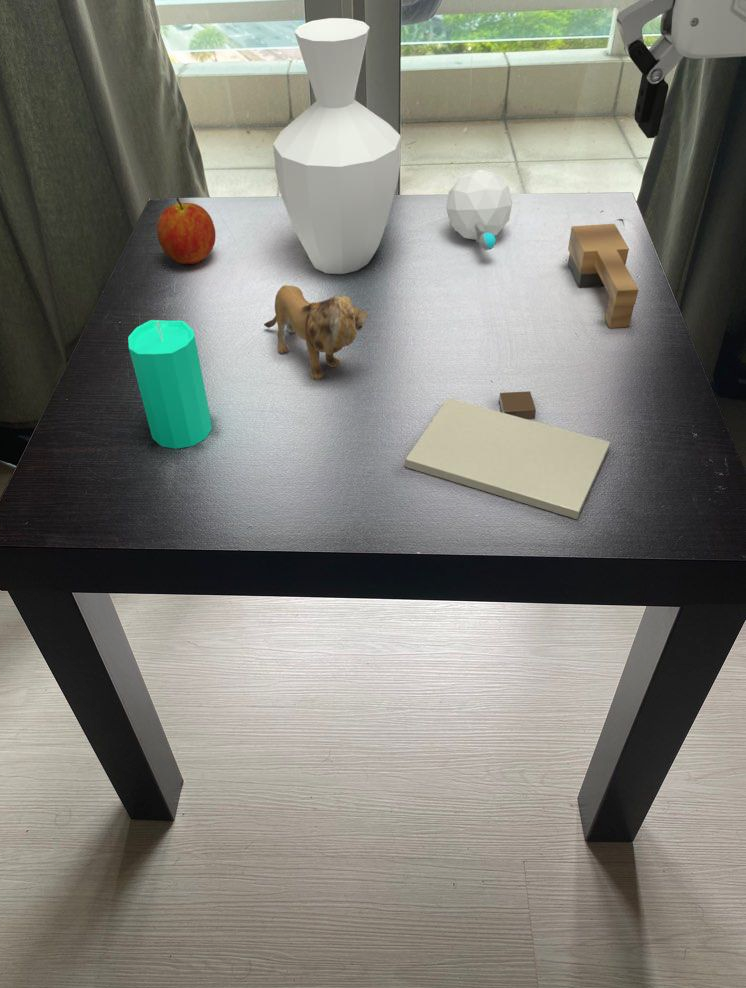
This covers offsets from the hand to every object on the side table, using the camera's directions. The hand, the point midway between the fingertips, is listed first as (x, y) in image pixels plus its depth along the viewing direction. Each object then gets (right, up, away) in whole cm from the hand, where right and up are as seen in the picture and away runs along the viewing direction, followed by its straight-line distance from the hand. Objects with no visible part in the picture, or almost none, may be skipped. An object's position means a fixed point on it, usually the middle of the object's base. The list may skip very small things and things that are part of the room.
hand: (707, 127), depth 67 cm
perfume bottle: (-12, +4, +38) cm, 40 cm away
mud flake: (-12, -20, +15) cm, 28 cm away
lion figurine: (-32, -13, +23) cm, 41 cm away
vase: (-29, +2, +37) cm, 47 cm away
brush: (+1, -5, +29) cm, 29 cm away
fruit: (-48, +2, +38) cm, 61 cm away
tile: (-14, -25, +10) cm, 31 cm away
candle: (-45, -22, +15) cm, 52 cm away
